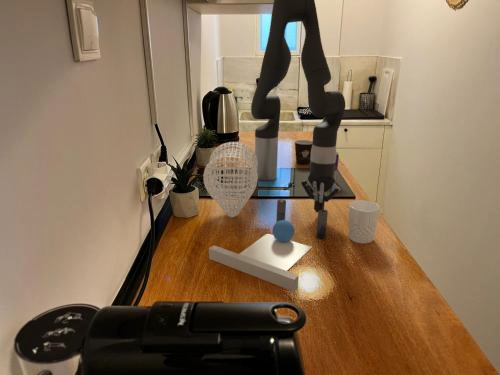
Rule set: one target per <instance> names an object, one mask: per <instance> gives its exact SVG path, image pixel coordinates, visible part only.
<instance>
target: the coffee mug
mask: <svg viewBox="0 0 500 375" xmlns="http://www.w3.org/2000/svg"><path fill="white" fill-rule="evenodd" d="M312 142H313V140H308V139H297V140H295V141H294V147H295V148H294V149H295V150H294V151H295V162H296V163H295V164H297V165H300V166H308V165H309V166H310V158H311V149H312Z"/></svg>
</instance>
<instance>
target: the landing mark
mask: <svg viewBox="0 0 500 375" xmlns="http://www.w3.org/2000/svg"><path fill="white" fill-rule="evenodd" d="M312 247H313V246H310V245H306V244H303V243H300V242H297V241H292V240H291V239H290V240H289V241H287V242H280V241H278V240H277V239H276V238H275V237H274V236H273V234H269V233H266V234H264V235H263V236H262V237H259V239H258V240H256V241H255V242H253V243H252V244H251V245H249V246H248V247H246V248H245V249H244V250H242V251H241V252H239V254H240V255H243V256H246V257H248V258H251V259H254V260H257V261H259V262H262V263H265V264H268V265H271V266H273V267H276V268H279V269H282V270H285V271H287V272H289V270H290V269H292V268H293V266H294V265H296V263H298V261H300V259H302V258H303V257H304V256H305V255H306V254H307V253H308V252H309V251H311V249H312Z"/></svg>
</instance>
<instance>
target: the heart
mask: <svg viewBox="0 0 500 375" xmlns="http://www.w3.org/2000/svg"><path fill="white" fill-rule="evenodd" d="M254 155H255V156H254ZM254 158H255V159H254ZM232 159H233V160H232ZM236 159H237V160H236ZM253 160H254V161H253ZM231 164H233V166H231ZM236 164H237V166H236ZM240 164H241V166H240ZM255 165H256V166H255ZM257 168H258V161H257V156H256V154H255V150H253V148H251V147H250V146H248V145H246V143H243V142H239V141H238V142H237V141H229V142H225V143H222V144H220V145H218V146H217V147H216V148H215V149H214V150H213V151H212V153H211V154H210V156H209V162H208V163H207V164H206V166H205V167H204V172H203V176H202V177H203V184H204V187H205V189H206V191H207V193H208V194H209V195H210V196H209V197H211V198H212V199H213V201H215V202H216V203H217V204H218V206H219V207H220V209H221V210H222V211H223V213H224V214H225V215H226V216H228V217H229V218H235V217H237V216H238V215H239V214H240V212H241V211H242V209H243V208H244V207H245V205H246V203H247V202H248V200H249V199H250V198H251V197H252V196H253V193H254V192H255V190H256V188H257V184H258V174H257ZM232 170H233V172H232ZM236 170H237V173H236ZM240 170H241V173H240ZM222 171H223V173H222ZM246 171H247V174H246ZM222 177H223V178H222ZM225 177H226V178H225ZM236 178H237V179H236ZM221 186H222V187H221ZM225 186H226V187H225ZM245 186H246V187H245ZM235 187H236V188H235Z"/></svg>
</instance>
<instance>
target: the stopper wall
mask: <svg viewBox="0 0 500 375" xmlns="http://www.w3.org/2000/svg"><path fill="white" fill-rule="evenodd" d="M208 259H209V260H212V261H214V262H217V263H219V264H222V265H225V266H227V267H229V268H232V269H235V270H237V271H240V272H242V273H245V274H248V275H250V276H253V277H255V278H258V279H261V280H263V281H265V282H269V283H271V284H274V285H276V286H279V287H281V288H284V289H286V290H289V291H291V292H295V291H296V290H297V289H298V287H299V277H300V276H299V275H298V274H295V273H292V272H289V271H285V270H282V269H279V268H276V267H273V266H271V265H268V264H265V263H262V262H259V261H257V260H254V259H251V258H248V257H246V256H243V255H240V253H238V252H234V251H231V250H228V249H226V248H223V247H220V246H217V245H212V246H210V247H208Z"/></svg>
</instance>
